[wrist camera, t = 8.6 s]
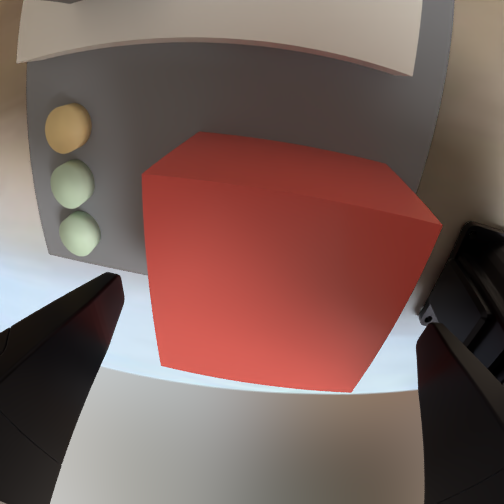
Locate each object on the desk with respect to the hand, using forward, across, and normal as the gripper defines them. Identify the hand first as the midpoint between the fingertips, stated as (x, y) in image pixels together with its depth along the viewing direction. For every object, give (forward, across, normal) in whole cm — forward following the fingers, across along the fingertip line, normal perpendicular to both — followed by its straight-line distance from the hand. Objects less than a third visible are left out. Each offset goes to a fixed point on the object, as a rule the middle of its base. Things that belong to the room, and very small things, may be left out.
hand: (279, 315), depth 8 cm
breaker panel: (+6, +4, -6) cm, 9 cm away
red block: (+5, 0, 0) cm, 5 cm away
